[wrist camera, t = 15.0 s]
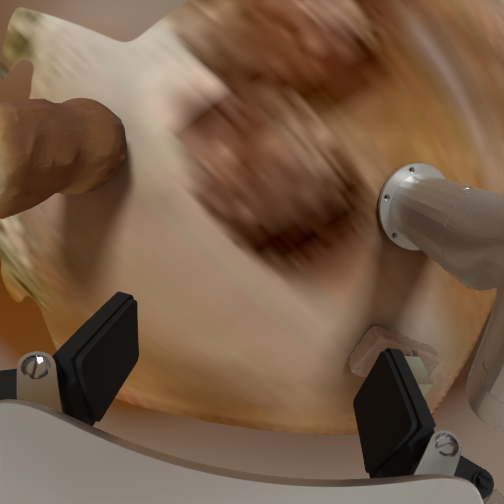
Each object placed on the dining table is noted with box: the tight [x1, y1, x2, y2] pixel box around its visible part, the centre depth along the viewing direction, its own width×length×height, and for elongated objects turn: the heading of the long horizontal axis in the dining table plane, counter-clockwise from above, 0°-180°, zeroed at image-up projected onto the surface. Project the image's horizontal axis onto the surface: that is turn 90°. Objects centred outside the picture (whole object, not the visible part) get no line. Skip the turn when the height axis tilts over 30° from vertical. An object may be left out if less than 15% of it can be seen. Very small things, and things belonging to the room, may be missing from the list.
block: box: [404, 356, 434, 398], centre depth 37 cm, size 5×5×7 cm
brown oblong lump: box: [0, 98, 126, 219], centre depth 26 cm, size 14×13×25 cm
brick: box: [348, 325, 440, 378], centre depth 43 cm, size 17×8×5 cm, turn 67°
